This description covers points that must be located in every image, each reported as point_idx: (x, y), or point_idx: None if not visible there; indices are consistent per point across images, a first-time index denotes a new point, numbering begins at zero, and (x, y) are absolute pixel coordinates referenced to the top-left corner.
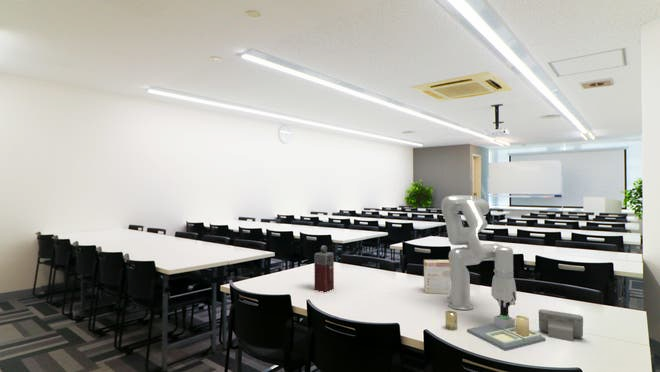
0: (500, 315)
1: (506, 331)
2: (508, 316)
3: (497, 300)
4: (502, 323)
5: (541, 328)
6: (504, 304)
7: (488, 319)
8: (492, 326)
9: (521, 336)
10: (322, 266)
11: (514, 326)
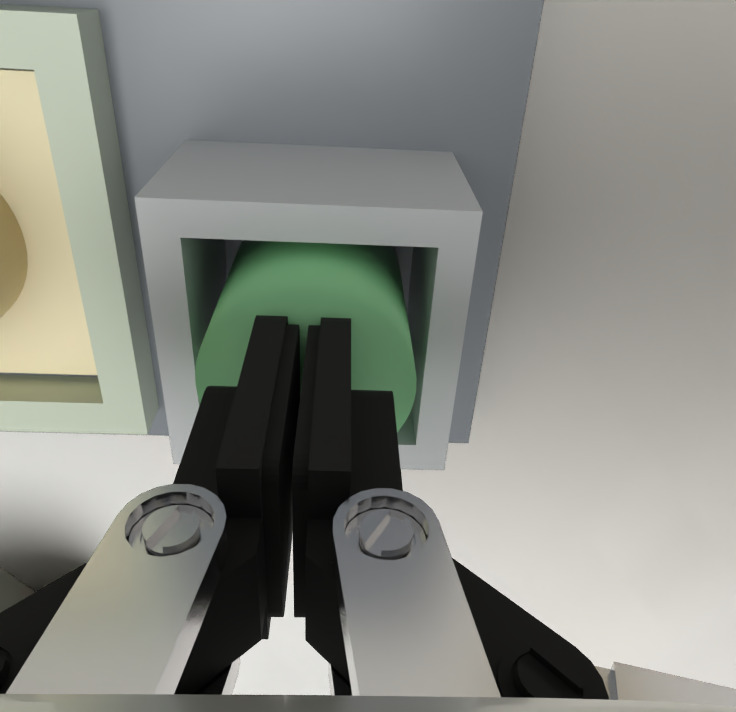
0: (327, 288)
1: (13, 8)
2: (198, 393)
3: (551, 651)
4: (233, 174)
5: None
6: (137, 574)
7: (712, 355)
8: (424, 59)
9: None
10: None
11: None
